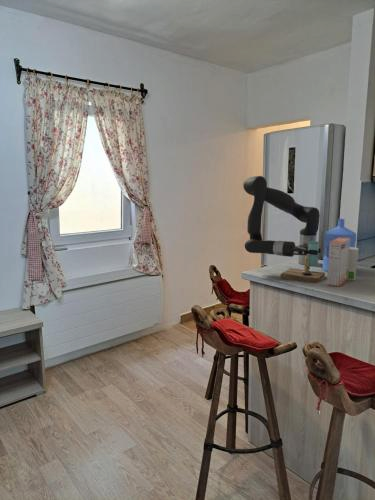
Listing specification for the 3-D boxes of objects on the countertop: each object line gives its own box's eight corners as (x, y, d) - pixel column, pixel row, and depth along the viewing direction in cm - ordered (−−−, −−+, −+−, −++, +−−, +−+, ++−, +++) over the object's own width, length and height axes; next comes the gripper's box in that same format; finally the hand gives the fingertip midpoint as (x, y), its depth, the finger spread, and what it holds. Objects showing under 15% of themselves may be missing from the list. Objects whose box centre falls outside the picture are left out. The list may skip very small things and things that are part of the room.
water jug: (347, 267, 202) (351, 217, 197) (357, 274, 187) (362, 220, 182) (319, 267, 204) (322, 217, 199) (326, 273, 189) (330, 220, 184)
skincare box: (336, 278, 179) (339, 247, 176) (338, 275, 185) (340, 245, 182) (355, 280, 176) (358, 249, 173) (356, 277, 181) (358, 247, 178)
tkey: (312, 269, 187) (313, 243, 184) (311, 274, 177) (313, 246, 175) (302, 269, 189) (303, 242, 186) (300, 273, 179) (302, 246, 177)
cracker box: (335, 278, 180) (338, 237, 176) (348, 280, 176) (351, 238, 172) (326, 284, 169) (329, 240, 165) (339, 287, 165) (342, 242, 161)
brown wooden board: (289, 271, 194) (290, 268, 193) (324, 276, 184) (324, 272, 183) (280, 278, 181) (280, 273, 181) (317, 283, 171) (317, 278, 171)
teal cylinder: (309, 263, 177) (310, 240, 175) (318, 264, 175) (319, 241, 172) (306, 265, 174) (307, 242, 171) (316, 267, 171) (317, 243, 169)
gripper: (279, 243, 174) (315, 246, 165) (288, 239, 186) (323, 241, 176) (278, 258, 175) (314, 262, 166) (288, 253, 187) (322, 256, 178)
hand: (319, 251), depth 171 cm, fingers closed on teal cylinder, 4 cm apart
